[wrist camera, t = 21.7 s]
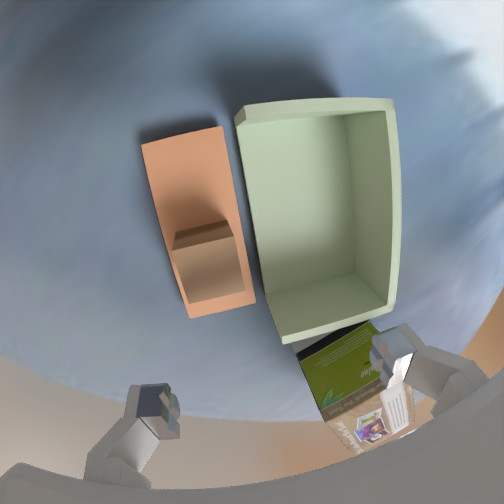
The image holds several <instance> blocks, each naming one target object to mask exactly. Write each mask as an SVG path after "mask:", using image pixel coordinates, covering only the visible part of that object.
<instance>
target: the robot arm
mask: <svg viewBox="0 0 504 504" xmlns="http://www.w3.org/2000/svg"><path fill="white" fill-rule="evenodd" d="M372 343H373V347H372V348H371V349H370V361H371V364H372V366H373V368H374V369H375V370H376V371H378V372H380V379H381V381H382V382H383V384H384V385H385V387H386V389H387V388H390V387H392V386H395V385H397V384H399V383H402V382H404V383H405V384H407V385H409V386H411V387H413V388H414V389H416V390H418V391H420V392H422V393H423V394H425V395H427V396H429V397H431V398H433V399H434V400H436V403H435V405H434V406H433V408H432V410H431V413H432V415H433V416H434V419H432V420H430V421H429V422H427V423H425V424H423V425H421V426H420V427H418V428H416V429H414V430H413V431H410V432H409V433H407V434H405V435H403V436H401V437H399V438H397V439H395V440H393V441H390V442H388V443H386V444H384V445H382V446H379V447H377V448H375V449H373V450H370V451H368V452H365V453H363V454H360V455H357V456H355V457H352V458H350V459H347V460H344V461H341V462H338V463H335V464H332V465H329V466H326V467H323V468H319V469H316V470H312V471H309V472H305V473H301V474H297V475H293V476H289V477H285V478H280V479H275V480H270V481H265V482H259V483H253V484H246V485H239V486H230V487H220V488H207V489H151V481H150V480H149V479H148V478H146V477H145V476H144V475H142V474H140V472H141V470H142V469H143V467H144V466H145V464H146V463H147V461H148V460H149V458H150V456H151V455H152V453H153V452H154V450H155V448H156V447H157V445H158V444H159V442H160V440H169V439H179V437H180V425H179V423H178V422H177V421H176V420H177V419H178V418H179V416H180V407H179V402H178V400H177V398H176V396H175V395H174V394H172V393H170V392H171V388H170V386H169V385H168V383H160V384H145V385H131V387H130V388H129V392H128V396H127V401H126V407H125V412H124V417H123V418H120V419H119V420H118V421H117V422H116V423H115V424H114V426H113V427H112V428H111V429H110V430H109V431H108V432H107V433H106V434H105V435H104V436H103V438H102V439H101V440H100V441H99V442H98V443H97V444H96V445H95V446H94V447H93V448H92V449H91V451H90V452H89V453H88V455H87V461H86V467H85V472H84V478H83V480H82V479H77V478H73V477H68V476H64V475H60V474H57V473H53V472H50V471H46V470H43V469H40V468H37V467H34V466H31V465H29V464H26V463H17V464H16V465H14V466H13V467H11V468H10V469H9V470H8V471H7V472H6V473H5V474H3V475H2V476H1V477H0V504H504V368H502V369H501V370H500V371H499V372H498V373H497V374H495V375H494V376H493V377H492V378H491V379H489V378H488V377H487V376H486V375H485V374H484V372H483V371H482V370H481V369H480V368H479V366H478V365H477V364H476V363H475V362H474V361H473V360H470V359H467V358H464V357H461V356H459V355H456V354H453V353H450V352H447V351H444V350H442V349H439V348H436V347H433V346H430V345H429V346H426V345H425V344H424V342H423V341H422V340H421V339H420V338H419V337H418V336H417V334H416V333H415V332H414V331H413V330H412V329H411V328H410V327H409V325H408V324H406V323H404V324H401V325H399V326H396V327H393V328H390V329H388V330H385V331H383V332H380V333H378V334H375V335H374V336H373V337H372Z"/></svg>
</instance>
